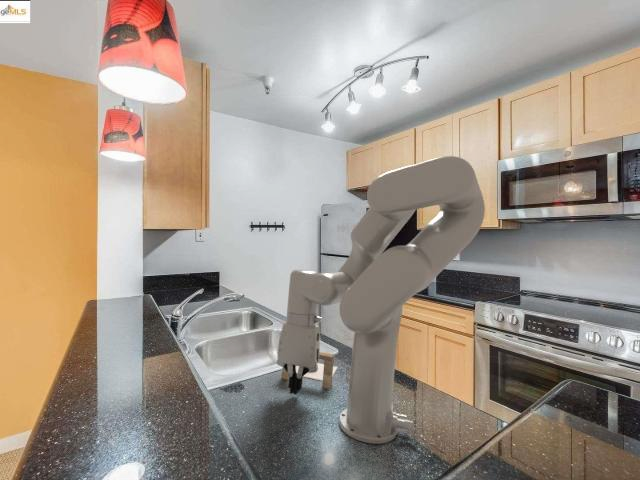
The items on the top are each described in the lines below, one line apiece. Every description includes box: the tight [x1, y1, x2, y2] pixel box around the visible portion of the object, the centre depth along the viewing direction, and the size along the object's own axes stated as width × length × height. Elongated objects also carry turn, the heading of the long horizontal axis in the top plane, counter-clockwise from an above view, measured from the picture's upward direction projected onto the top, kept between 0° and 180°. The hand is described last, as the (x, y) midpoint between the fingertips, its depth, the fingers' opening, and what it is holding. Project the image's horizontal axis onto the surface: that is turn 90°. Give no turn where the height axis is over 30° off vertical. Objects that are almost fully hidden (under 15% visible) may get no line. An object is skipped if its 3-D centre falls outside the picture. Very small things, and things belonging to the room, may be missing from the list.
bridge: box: [281, 350, 335, 390], centre depth 87 cm, size 3×14×9 cm, turn 75°
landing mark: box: [296, 362, 339, 382], centre depth 95 cm, size 12×12×1 cm
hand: (294, 391), depth 77 cm, fingers closed
